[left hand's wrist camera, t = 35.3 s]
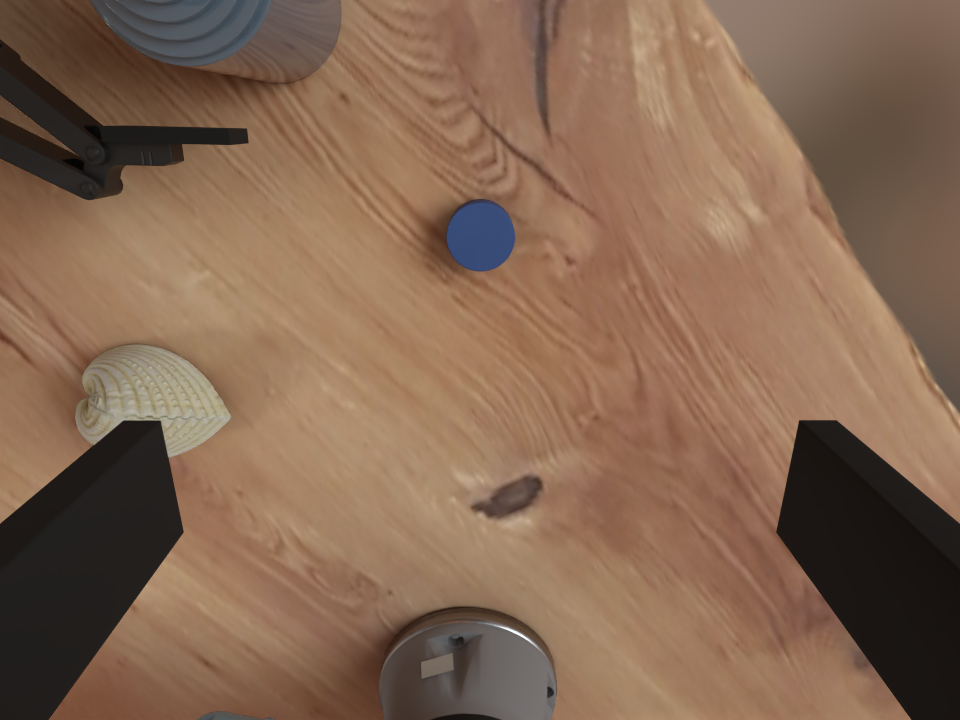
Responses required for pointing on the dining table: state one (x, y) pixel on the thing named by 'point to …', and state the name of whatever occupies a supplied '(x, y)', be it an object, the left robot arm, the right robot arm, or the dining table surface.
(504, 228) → the cap
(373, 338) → the dining table surface
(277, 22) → the bottle
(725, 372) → the dining table surface
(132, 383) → the seashell
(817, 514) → the left robot arm
